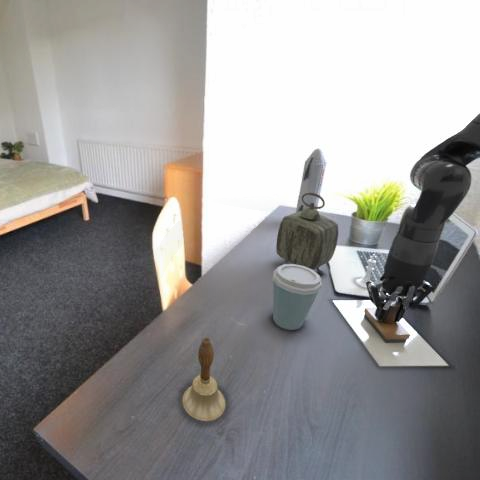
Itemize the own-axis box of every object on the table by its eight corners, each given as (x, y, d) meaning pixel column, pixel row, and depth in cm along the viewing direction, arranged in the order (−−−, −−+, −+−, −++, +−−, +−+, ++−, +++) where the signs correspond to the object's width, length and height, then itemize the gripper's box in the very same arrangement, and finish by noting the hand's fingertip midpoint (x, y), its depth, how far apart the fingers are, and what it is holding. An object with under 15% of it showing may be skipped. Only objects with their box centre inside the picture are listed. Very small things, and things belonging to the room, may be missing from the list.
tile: (384, 302, 88) (385, 299, 88) (447, 368, 69) (449, 365, 68) (331, 302, 89) (332, 300, 88) (378, 368, 69) (379, 365, 69)
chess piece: (378, 290, 93) (388, 259, 89) (360, 290, 93) (369, 259, 89) (368, 280, 98) (378, 250, 93) (351, 280, 98) (360, 250, 93)
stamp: (362, 315, 82) (370, 290, 79) (382, 315, 82) (390, 290, 79) (385, 343, 74) (395, 316, 71) (407, 343, 74) (418, 316, 70)
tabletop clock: (328, 276, 100) (348, 197, 88) (310, 286, 95) (328, 204, 84) (287, 257, 111) (300, 184, 99) (269, 265, 106) (281, 190, 95)
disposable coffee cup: (273, 304, 88) (281, 255, 82) (316, 319, 83) (329, 268, 76) (259, 327, 81) (266, 275, 74) (305, 345, 75) (318, 291, 68)
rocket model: (300, 232, 127) (315, 153, 113) (284, 226, 132) (297, 149, 118) (321, 223, 134) (338, 147, 120) (305, 218, 139) (319, 144, 126)
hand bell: (226, 427, 58) (233, 361, 51) (179, 420, 60) (179, 355, 52) (226, 387, 66) (232, 324, 58) (184, 382, 67) (185, 320, 60)
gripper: (387, 264, 66) (365, 331, 74) (459, 263, 66) (429, 330, 73) (366, 246, 72) (348, 309, 80) (432, 245, 72) (407, 309, 80)
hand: (387, 319), depth 77 cm, fingers closed on stamp, 3 cm apart
